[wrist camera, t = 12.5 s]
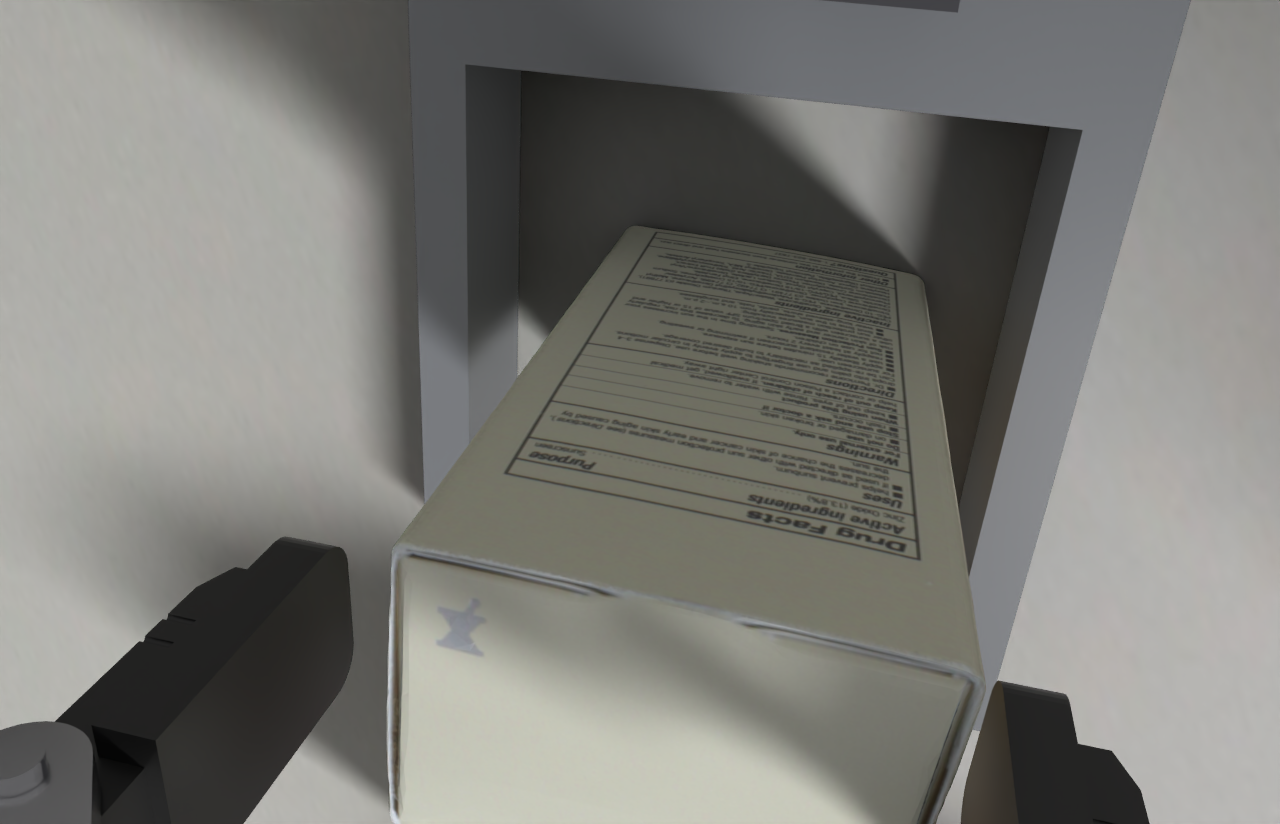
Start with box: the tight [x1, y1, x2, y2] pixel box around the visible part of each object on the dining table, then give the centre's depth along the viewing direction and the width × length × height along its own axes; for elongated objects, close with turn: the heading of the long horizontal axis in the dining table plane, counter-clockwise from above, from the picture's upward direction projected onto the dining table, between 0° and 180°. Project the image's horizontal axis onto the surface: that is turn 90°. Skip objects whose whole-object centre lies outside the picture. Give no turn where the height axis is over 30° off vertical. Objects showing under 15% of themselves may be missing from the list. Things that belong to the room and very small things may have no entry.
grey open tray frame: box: [408, 0, 1191, 731], centre depth 17 cm, size 12×22×7 cm, turn 176°
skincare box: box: [387, 226, 986, 824], centre depth 17 cm, size 6×4×12 cm
